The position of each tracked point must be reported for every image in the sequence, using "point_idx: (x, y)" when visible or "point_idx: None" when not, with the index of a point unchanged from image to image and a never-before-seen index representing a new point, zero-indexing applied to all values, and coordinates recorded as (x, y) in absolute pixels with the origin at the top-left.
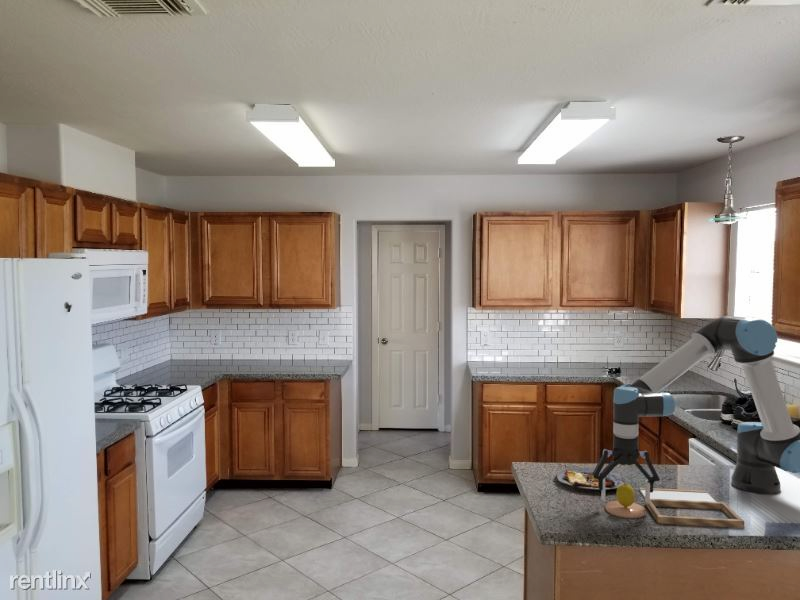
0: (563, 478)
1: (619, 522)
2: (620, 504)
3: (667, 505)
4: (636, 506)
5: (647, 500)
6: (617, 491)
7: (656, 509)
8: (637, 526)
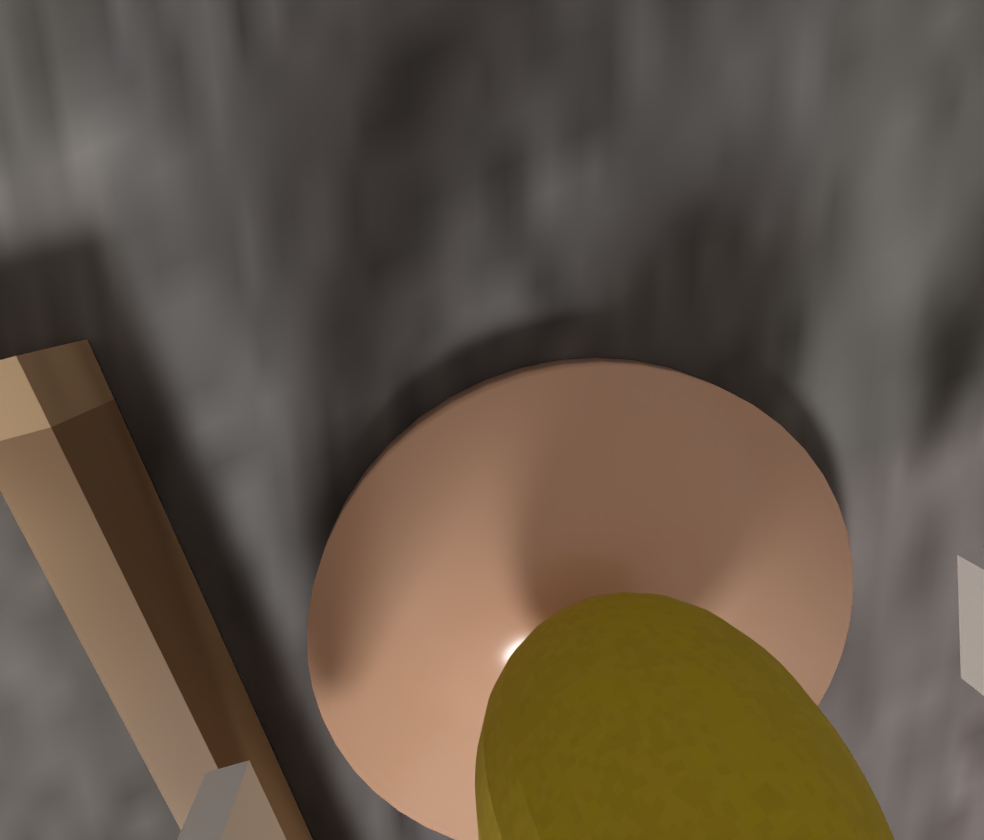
0: None
1: (664, 125)
2: None
3: None
4: (441, 746)
5: (229, 808)
6: (880, 810)
7: (113, 679)
8: (386, 52)
